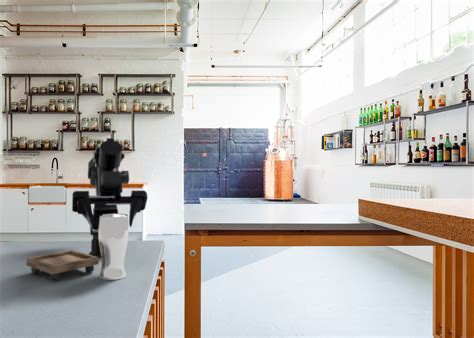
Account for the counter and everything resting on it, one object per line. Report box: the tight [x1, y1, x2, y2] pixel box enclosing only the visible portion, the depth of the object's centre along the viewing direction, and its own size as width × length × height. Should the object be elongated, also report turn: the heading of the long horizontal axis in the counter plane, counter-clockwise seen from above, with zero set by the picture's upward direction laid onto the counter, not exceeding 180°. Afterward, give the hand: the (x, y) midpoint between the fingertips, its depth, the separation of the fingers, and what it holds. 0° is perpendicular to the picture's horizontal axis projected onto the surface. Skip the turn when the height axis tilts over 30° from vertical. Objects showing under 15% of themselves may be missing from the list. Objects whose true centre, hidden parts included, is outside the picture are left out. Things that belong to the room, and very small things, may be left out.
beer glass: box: [98, 213, 129, 281], centre depth 96 cm, size 7×7×15 cm
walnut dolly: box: [26, 249, 99, 282], centre depth 99 cm, size 12×12×4 cm
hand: (112, 226), depth 100 cm, fingers open, 9 cm apart
